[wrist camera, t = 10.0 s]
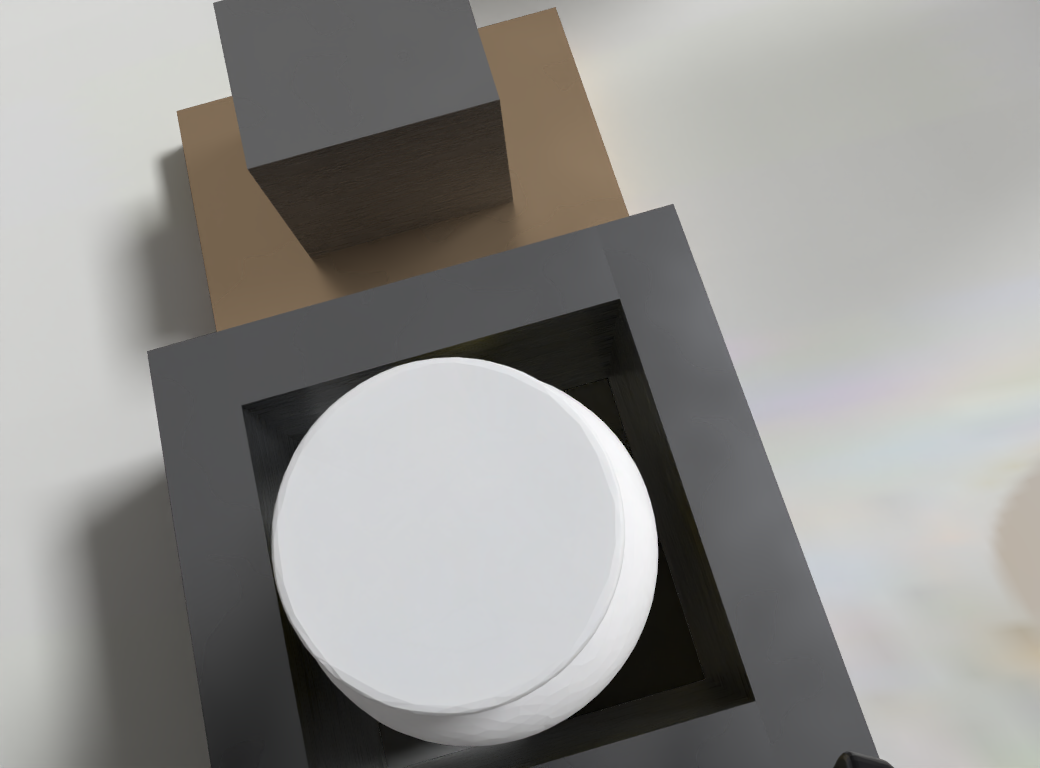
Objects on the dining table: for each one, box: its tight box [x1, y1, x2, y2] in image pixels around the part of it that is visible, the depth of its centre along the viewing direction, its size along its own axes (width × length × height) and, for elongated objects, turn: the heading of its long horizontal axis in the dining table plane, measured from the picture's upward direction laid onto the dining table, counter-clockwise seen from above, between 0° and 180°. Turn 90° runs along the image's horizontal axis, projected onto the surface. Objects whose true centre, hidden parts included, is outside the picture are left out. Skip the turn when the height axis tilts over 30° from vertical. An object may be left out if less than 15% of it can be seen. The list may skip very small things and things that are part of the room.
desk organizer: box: [147, 0, 879, 768], centre depth 17 cm, size 10×18×5 cm, turn 16°
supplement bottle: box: [271, 357, 658, 746], centre depth 14 cm, size 5×5×10 cm
